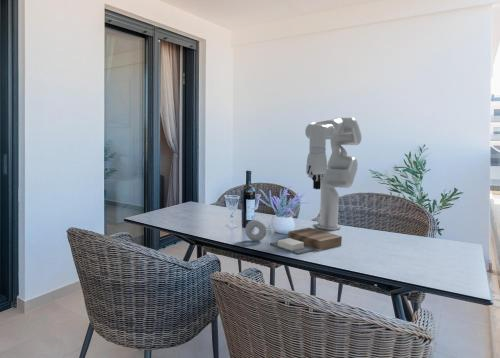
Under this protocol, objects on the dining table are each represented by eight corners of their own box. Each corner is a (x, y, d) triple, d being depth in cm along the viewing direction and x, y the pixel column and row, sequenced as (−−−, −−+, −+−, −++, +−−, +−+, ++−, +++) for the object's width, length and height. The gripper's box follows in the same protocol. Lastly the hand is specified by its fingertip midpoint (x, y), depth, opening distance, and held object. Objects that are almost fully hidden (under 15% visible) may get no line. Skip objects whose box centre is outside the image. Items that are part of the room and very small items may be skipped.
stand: (288, 239, 177) (288, 231, 177) (309, 235, 186) (309, 227, 185) (320, 250, 161) (320, 241, 161) (341, 245, 170) (341, 236, 169)
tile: (289, 237, 169) (289, 243, 170) (277, 240, 165) (277, 245, 165) (303, 242, 162) (303, 247, 163) (292, 245, 158) (292, 250, 158)
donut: (244, 241, 174) (244, 220, 173) (245, 239, 177) (246, 218, 176) (265, 242, 172) (266, 221, 171) (266, 240, 175) (267, 219, 174)
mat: (270, 244, 169) (270, 243, 169) (288, 240, 176) (288, 239, 176) (298, 254, 155) (298, 253, 155) (316, 250, 162) (316, 248, 162)
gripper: (322, 149, 186) (321, 186, 189) (300, 151, 177) (300, 189, 180) (334, 150, 180) (333, 188, 183) (312, 152, 171) (311, 191, 174)
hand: (316, 188), depth 182 cm, fingers closed
